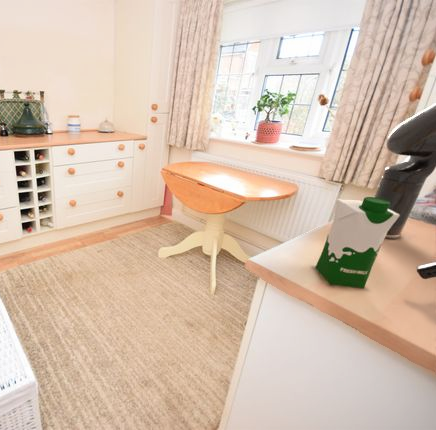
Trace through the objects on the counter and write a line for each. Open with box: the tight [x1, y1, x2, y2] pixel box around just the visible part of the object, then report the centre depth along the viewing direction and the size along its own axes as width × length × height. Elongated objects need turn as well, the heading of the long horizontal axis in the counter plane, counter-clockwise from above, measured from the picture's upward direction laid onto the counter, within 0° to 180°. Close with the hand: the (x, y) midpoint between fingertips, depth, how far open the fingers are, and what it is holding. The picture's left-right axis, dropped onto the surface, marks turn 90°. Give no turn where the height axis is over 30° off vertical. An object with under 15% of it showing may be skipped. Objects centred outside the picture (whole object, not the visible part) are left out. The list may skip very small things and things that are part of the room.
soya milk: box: [314, 196, 400, 289], centre depth 64 cm, size 9×9×20 cm
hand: (419, 273), depth 58 cm, fingers closed
